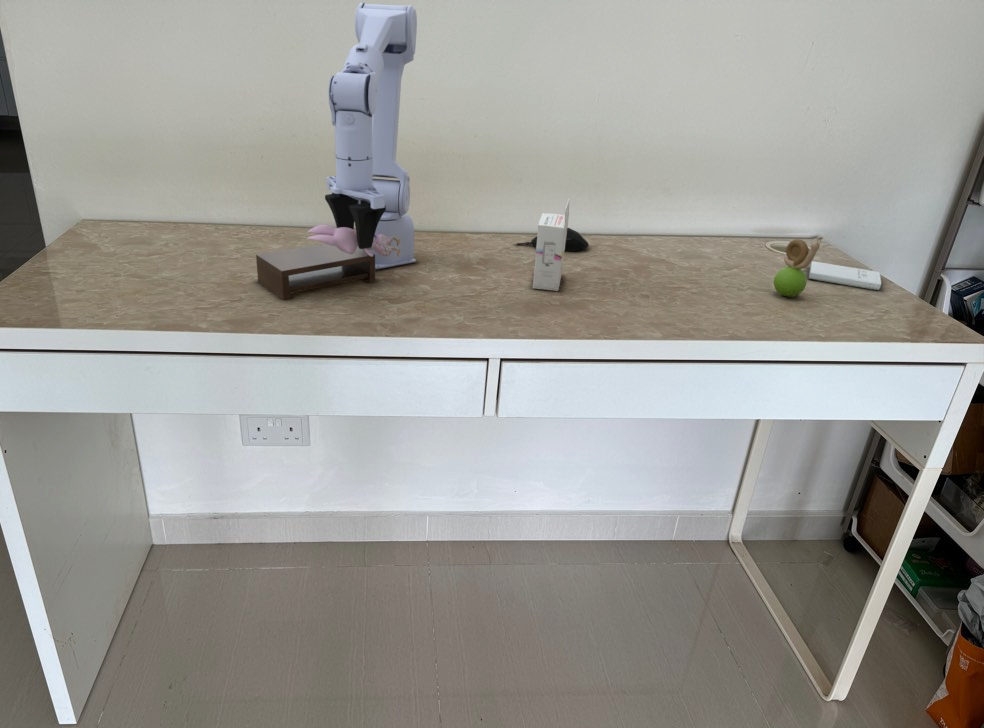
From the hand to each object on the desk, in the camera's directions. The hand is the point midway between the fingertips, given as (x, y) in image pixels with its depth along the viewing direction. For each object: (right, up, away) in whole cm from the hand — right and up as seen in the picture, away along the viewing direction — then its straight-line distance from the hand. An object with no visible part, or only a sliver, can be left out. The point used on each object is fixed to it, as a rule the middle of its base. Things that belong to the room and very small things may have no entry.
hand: (355, 242), depth 126 cm
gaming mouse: (+37, +6, +36) cm, 52 cm away
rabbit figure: (0, -1, +1) cm, 2 cm away
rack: (-8, -5, +11) cm, 14 cm away
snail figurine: (+77, -7, +15) cm, 79 cm away
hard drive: (+93, -2, +25) cm, 96 cm away
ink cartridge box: (+33, -4, +16) cm, 37 cm away
